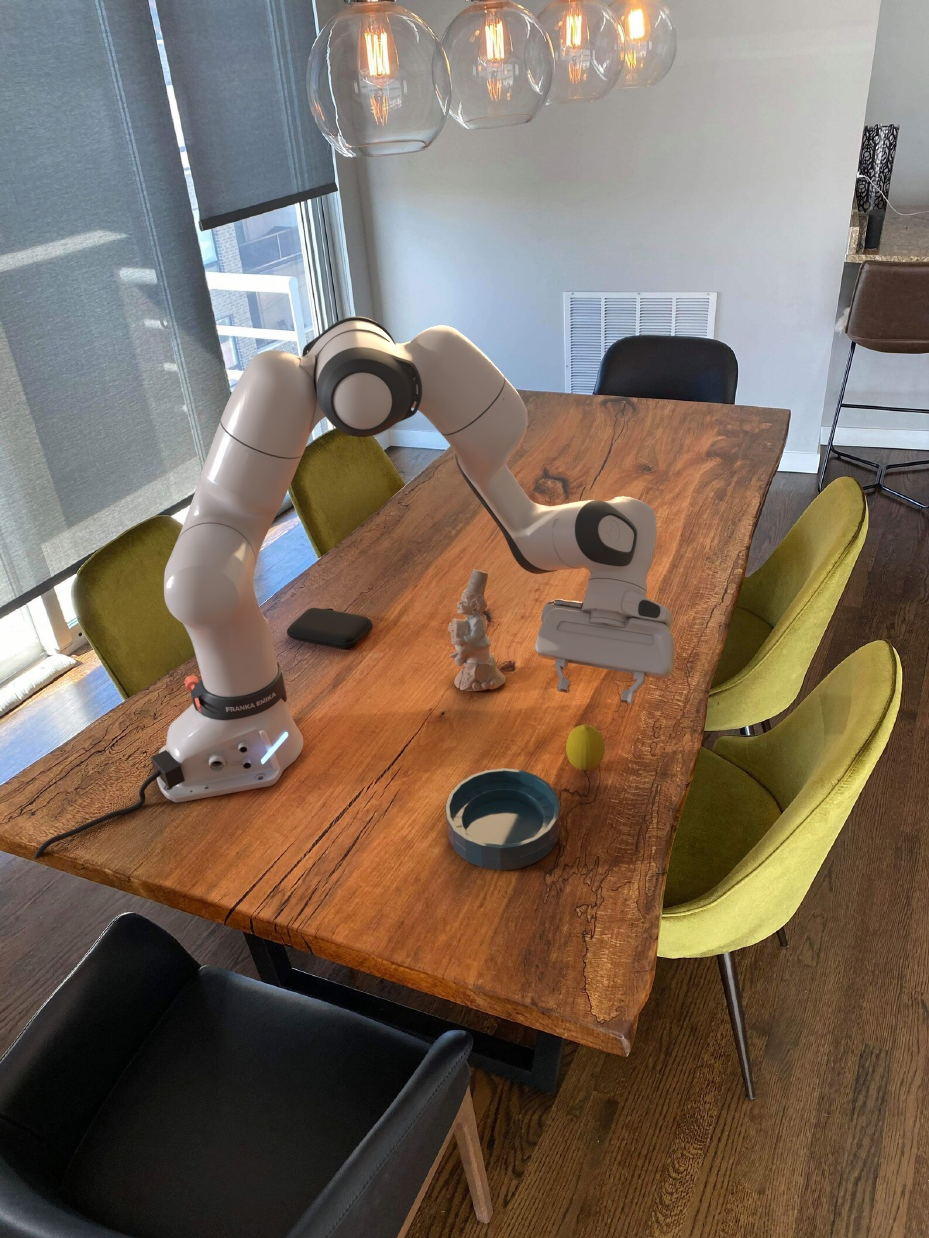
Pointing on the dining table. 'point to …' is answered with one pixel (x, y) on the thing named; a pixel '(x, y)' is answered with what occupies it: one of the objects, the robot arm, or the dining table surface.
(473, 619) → the figurine
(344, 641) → the carrying case
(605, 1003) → the dining table surface
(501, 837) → the bowl
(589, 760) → the lemon
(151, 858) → the dining table surface
